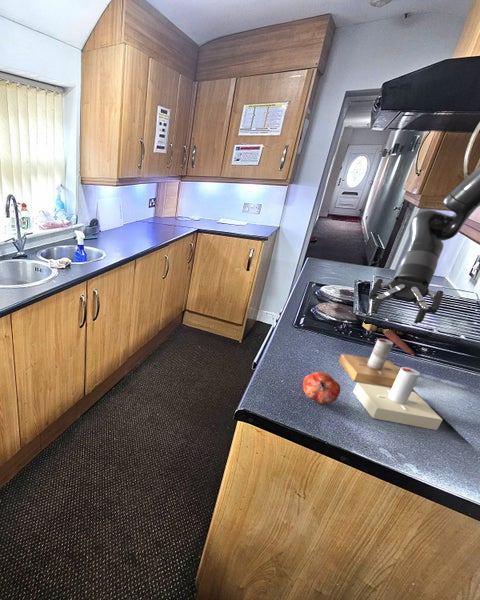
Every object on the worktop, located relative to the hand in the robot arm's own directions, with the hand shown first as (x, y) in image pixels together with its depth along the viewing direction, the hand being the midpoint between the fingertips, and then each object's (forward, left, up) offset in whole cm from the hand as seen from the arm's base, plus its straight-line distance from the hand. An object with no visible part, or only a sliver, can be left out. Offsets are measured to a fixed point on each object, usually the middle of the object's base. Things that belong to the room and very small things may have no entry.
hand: (395, 317), depth 91 cm
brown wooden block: (+5, +8, -15) cm, 18 cm away
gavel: (-11, -15, -15) cm, 24 cm away
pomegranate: (+23, +24, -15) cm, 36 cm away
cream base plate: (+7, +23, -15) cm, 28 cm away
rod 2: (+7, +23, -12) cm, 27 cm away
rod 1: (+5, +8, -12) cm, 15 cm away
